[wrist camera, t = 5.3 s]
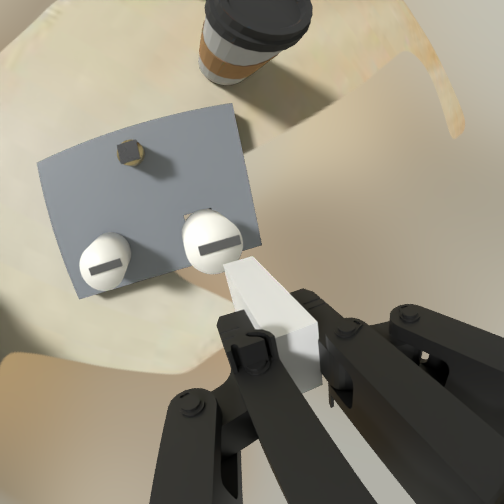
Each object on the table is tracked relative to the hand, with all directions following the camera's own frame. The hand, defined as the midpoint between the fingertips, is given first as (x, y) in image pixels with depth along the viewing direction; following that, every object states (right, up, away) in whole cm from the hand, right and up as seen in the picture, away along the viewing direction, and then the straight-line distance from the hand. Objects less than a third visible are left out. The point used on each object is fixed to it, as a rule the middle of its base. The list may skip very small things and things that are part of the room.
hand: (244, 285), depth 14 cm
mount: (-11, +7, +16) cm, 21 cm away
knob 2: (-5, +4, +14) cm, 15 cm away
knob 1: (-15, +2, +15) cm, 22 cm away
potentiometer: (-11, +11, +11) cm, 20 cm away
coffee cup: (-3, +24, +14) cm, 28 cm away
